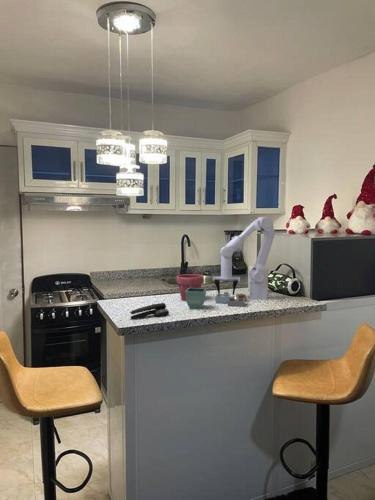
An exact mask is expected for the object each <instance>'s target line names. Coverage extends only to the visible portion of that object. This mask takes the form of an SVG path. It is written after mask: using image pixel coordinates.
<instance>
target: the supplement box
mask: <svg viewBox="0 0 375 500" xmlns="http://www.w3.org/2000/svg"><path fill="white" fill-rule="evenodd" d="M253 266H254V265H248V267H247V268H248V270H247V271H248V274H247V275H248V277H247V278H248V279H247V282H248V283H247V285H248V286H247V287H248V288H247V290H248V291H247V292H250V280H251V278H250V277H249V272H250V271H251V270H252V268H253ZM264 275H265V278H264V280H263V281H264V282H266V283H267V293H268V294H269V288H268V287H269V267H267V266H265V273H264Z"/></svg>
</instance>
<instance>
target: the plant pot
mask: <svg viewBox="0 0 375 500" xmlns="http://www.w3.org/2000/svg"><path fill="white" fill-rule="evenodd" d="M176 284H178V290H179V294H180V298H181V300H182V301H185V302H187V300H186V292H185V291H186V290H187V289H188V288H202V284H204V276H203V274H196V273H194V274H189V273H188V274H187V273H186V274H178V275H177V276H176Z"/></svg>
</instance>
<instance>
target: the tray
mask: <svg viewBox="0 0 375 500" xmlns="http://www.w3.org/2000/svg"><path fill="white" fill-rule="evenodd" d="M245 303H246V302H245V298H238V301H234V297H233V298H230V299H228V304H227V307H239V308H241V307H242V308H244V307H245V306H246V305H245Z"/></svg>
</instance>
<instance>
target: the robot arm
mask: <svg viewBox="0 0 375 500" xmlns="http://www.w3.org/2000/svg"><path fill="white" fill-rule="evenodd" d="M258 230H260V231H261V233H262V234H263V235H264V236H263V239H262V242H261V245H260V247H259V248H260V249H259V251H258V255H257V258H256V260H255V263H254V264H253V265H252V266H253V268H252V270H251V271H250V272H249V277H250V278H251V280H250V291H249V296H248V299H249V300H268V296H269V292H268V293H267V283H266V282H264V281H263V280H264V278H265V275H264V273H265V267H266V264H267V260H268V258H269V254H270V251H271V249H272V248H271V247H272V244H273V241H274V239H275V235H276V233H275V228H274V221H273V220H272V219H271V217H269V216H258V217H257V218H256V219H255V220H253V221H252V222H251V223H250V224H249V225H248V226H247V227H246V228H245V229H244V230H243V231H242V232H241V233H240V234H239V235H235V236H231V240H230V241H228V242H227V243H225V246H223V247H221V248H220V251H219V254H220V259H221V260H220V276H212V281H213V282H214V284H215V287H216V289H217V294H221V293H220V292H221V290H220V288H221V287H220V285H221V284H220V282H222V281H223V282H232V295H233V296H234V295H235V291H236V288H237V285H238V283H239V282H241V277H240V276H232V275H233V265H232V264H233V263H232V262H233V261H232V258H233V255H234V253H235V252H236V251H237V250H238V249H239V248H240V247H242V246H243V243H244V240H245V239H246V238H247V237H249V236H250V235H251V234H252V233H253V232H254V231H258Z"/></svg>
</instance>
